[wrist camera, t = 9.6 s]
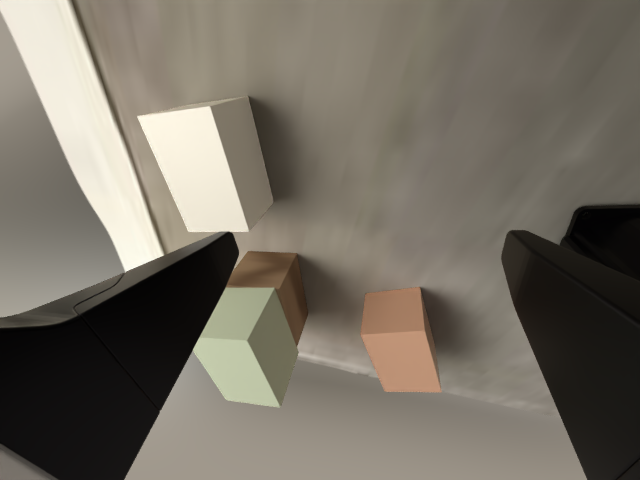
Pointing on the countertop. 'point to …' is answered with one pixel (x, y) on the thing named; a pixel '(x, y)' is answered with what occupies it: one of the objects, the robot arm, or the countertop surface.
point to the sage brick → (248, 347)
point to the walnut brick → (275, 283)
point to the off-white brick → (211, 163)
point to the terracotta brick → (400, 341)
